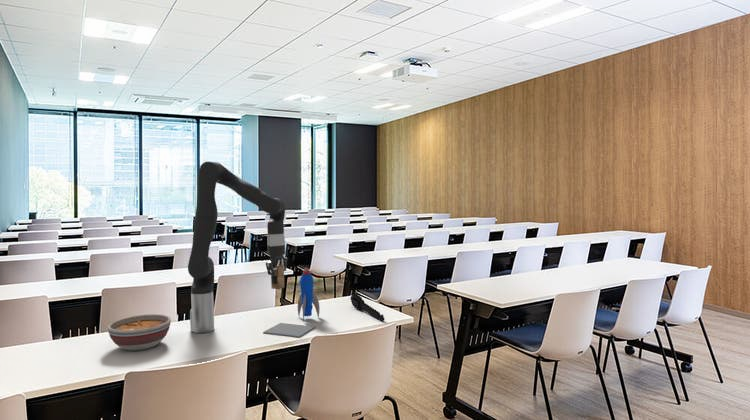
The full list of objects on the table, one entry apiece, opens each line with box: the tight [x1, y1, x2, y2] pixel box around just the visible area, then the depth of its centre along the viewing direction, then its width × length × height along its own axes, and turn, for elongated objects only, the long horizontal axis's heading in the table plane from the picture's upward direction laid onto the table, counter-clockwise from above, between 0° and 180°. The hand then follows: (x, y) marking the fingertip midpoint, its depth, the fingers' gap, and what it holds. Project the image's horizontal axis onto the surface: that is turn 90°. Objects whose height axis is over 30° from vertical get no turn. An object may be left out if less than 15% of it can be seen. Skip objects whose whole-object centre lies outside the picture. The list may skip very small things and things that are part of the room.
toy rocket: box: [297, 266, 320, 322], centre depth 227 cm, size 11×10×25 cm
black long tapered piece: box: [350, 292, 385, 322], centre depth 238 cm, size 35×4×8 cm, turn 28°
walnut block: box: [270, 265, 285, 290], centre depth 209 cm, size 4×4×10 cm
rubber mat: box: [262, 322, 316, 338], centre depth 212 cm, size 18×14×1 cm
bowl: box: [107, 313, 172, 352], centre depth 194 cm, size 23×23×10 cm
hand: (277, 282), depth 210 cm, fingers closed on walnut block, 4 cm apart
